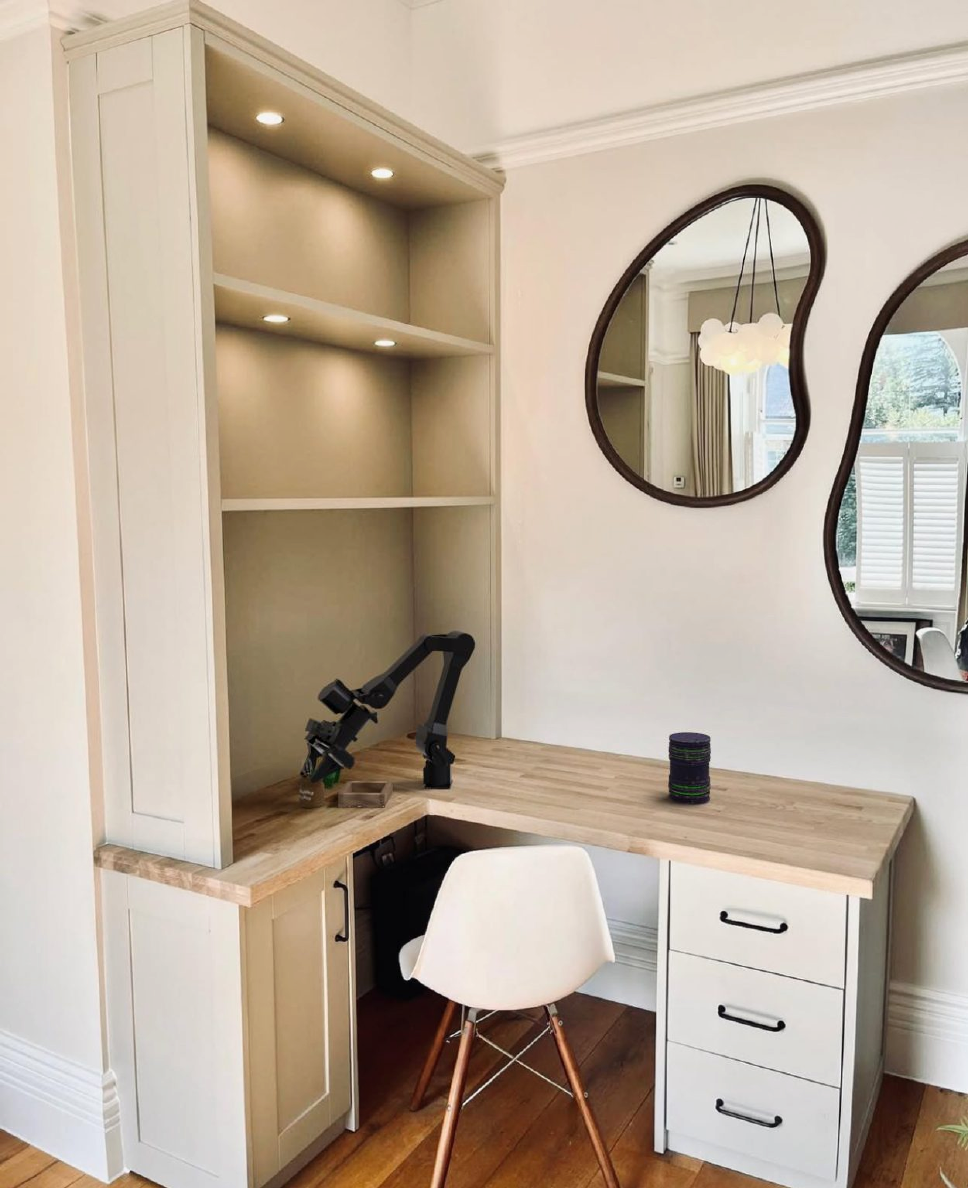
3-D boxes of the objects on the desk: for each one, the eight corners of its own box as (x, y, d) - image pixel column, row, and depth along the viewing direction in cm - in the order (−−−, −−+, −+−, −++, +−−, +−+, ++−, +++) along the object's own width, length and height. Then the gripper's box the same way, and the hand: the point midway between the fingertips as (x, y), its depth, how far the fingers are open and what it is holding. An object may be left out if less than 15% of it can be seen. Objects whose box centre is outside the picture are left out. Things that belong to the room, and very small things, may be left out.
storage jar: (660, 795, 241) (660, 734, 240) (695, 790, 245) (696, 730, 243) (682, 806, 232) (682, 743, 230) (718, 802, 235) (719, 739, 234)
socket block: (392, 795, 245) (392, 781, 245) (384, 809, 234) (384, 794, 234) (348, 794, 246) (347, 780, 245) (338, 808, 235) (338, 794, 235)
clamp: (326, 805, 250) (329, 778, 246) (304, 799, 251) (306, 771, 247) (344, 776, 261) (347, 749, 256) (323, 769, 261) (325, 742, 257)
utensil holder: (313, 799, 241) (311, 750, 240) (331, 804, 237) (329, 754, 236) (294, 805, 237) (292, 755, 235) (311, 810, 233) (310, 759, 231)
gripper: (311, 699, 245) (268, 749, 240) (341, 712, 229) (296, 767, 224) (342, 726, 249) (301, 777, 245) (373, 742, 233) (330, 796, 229)
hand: (306, 778), depth 235 cm, fingers open, 6 cm apart
